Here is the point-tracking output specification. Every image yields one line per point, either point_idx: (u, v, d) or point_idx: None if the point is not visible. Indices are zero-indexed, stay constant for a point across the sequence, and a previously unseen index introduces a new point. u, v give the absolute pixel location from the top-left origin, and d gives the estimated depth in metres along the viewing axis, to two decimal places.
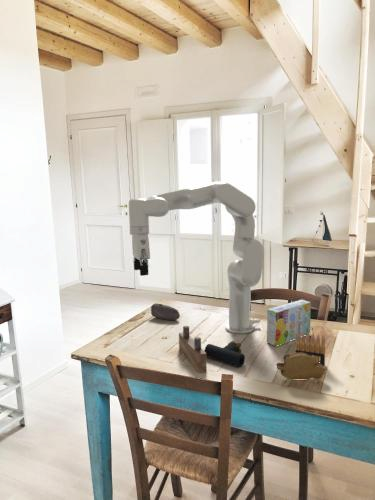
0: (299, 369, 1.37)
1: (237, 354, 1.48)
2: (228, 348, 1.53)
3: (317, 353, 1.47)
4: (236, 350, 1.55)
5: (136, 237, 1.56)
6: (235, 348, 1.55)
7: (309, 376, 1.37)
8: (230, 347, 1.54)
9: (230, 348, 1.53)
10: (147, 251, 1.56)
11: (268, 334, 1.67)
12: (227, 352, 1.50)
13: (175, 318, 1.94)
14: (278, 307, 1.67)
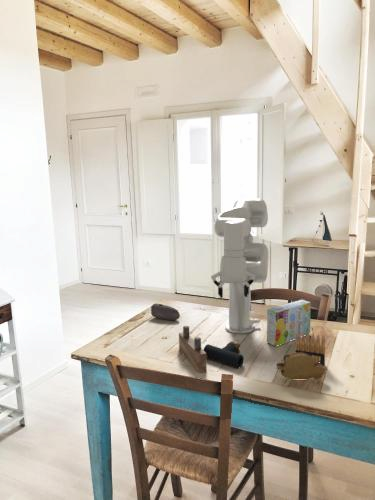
0: (299, 369, 1.37)
1: (236, 355, 1.47)
2: (227, 349, 1.52)
3: (317, 353, 1.47)
4: (235, 351, 1.54)
5: (243, 260, 1.53)
6: (234, 349, 1.54)
7: (309, 376, 1.37)
8: (229, 348, 1.53)
9: (229, 349, 1.53)
10: None
11: (268, 334, 1.67)
12: (226, 353, 1.50)
13: (175, 318, 1.94)
14: (278, 307, 1.67)
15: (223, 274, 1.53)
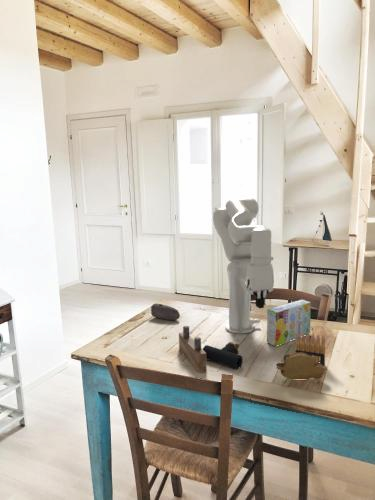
0: (299, 369, 1.37)
1: (235, 356, 1.47)
2: (226, 349, 1.52)
3: (317, 353, 1.47)
4: (234, 351, 1.54)
5: (271, 267, 1.53)
6: (233, 349, 1.54)
7: (309, 376, 1.37)
8: (228, 348, 1.53)
9: (228, 349, 1.52)
10: None
11: (268, 334, 1.67)
12: (225, 353, 1.49)
13: (175, 318, 1.94)
14: (278, 307, 1.67)
15: (253, 282, 1.51)
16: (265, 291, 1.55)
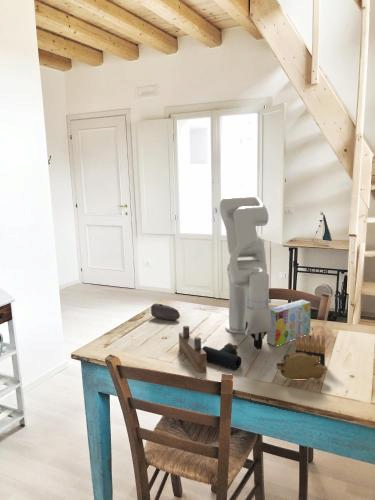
0: (299, 369, 1.37)
1: (233, 356, 1.46)
2: (224, 350, 1.51)
3: (317, 353, 1.47)
4: (232, 352, 1.53)
5: (269, 310, 1.56)
6: (231, 350, 1.53)
7: (309, 376, 1.37)
8: (226, 349, 1.52)
9: (226, 350, 1.52)
10: None
11: (268, 334, 1.67)
12: (223, 354, 1.48)
13: (175, 318, 1.94)
14: (278, 307, 1.67)
15: (251, 325, 1.54)
16: (263, 333, 1.58)
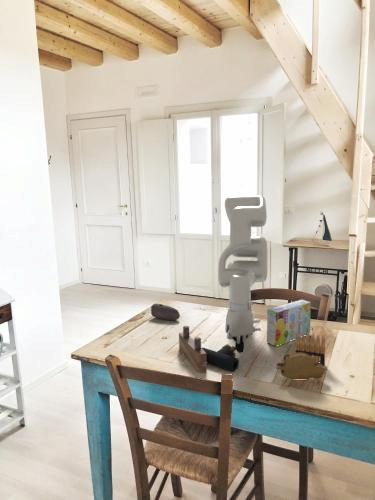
0: (299, 369, 1.37)
1: (231, 358, 1.45)
2: (222, 352, 1.50)
3: (317, 353, 1.47)
4: (230, 354, 1.52)
5: (250, 312, 1.53)
6: (229, 352, 1.52)
7: (309, 376, 1.37)
8: (224, 351, 1.51)
9: (224, 352, 1.51)
10: None
11: (268, 334, 1.67)
12: (221, 356, 1.47)
13: (175, 318, 1.94)
14: (278, 307, 1.67)
15: (232, 328, 1.51)
16: (244, 336, 1.55)
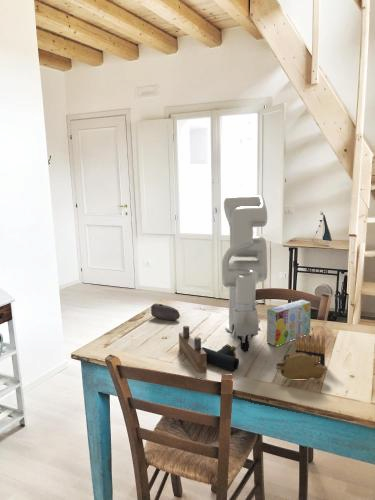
0: (299, 369, 1.37)
1: (231, 358, 1.45)
2: (222, 352, 1.50)
3: (317, 353, 1.47)
4: (230, 354, 1.52)
5: (255, 312, 1.54)
6: (229, 352, 1.52)
7: (309, 376, 1.37)
8: (224, 351, 1.51)
9: (224, 352, 1.50)
10: None
11: (268, 334, 1.67)
12: (221, 356, 1.47)
13: (175, 318, 1.94)
14: (278, 307, 1.67)
15: (237, 328, 1.53)
16: (250, 335, 1.56)
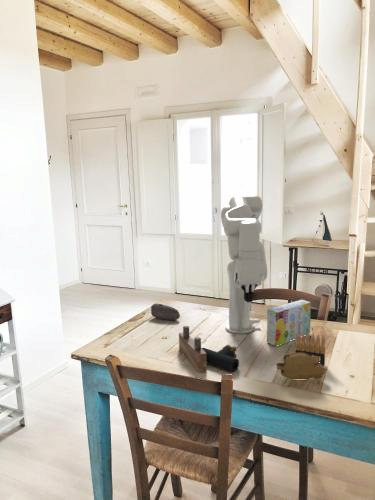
0: (299, 369, 1.37)
1: (231, 359, 1.44)
2: (222, 352, 1.50)
3: (317, 353, 1.47)
4: (231, 354, 1.51)
5: (259, 260, 1.51)
6: (230, 352, 1.51)
7: (309, 376, 1.37)
8: (224, 351, 1.50)
9: (224, 352, 1.50)
10: None
11: (268, 334, 1.67)
12: (221, 356, 1.47)
13: (175, 318, 1.94)
14: (278, 307, 1.67)
15: (241, 276, 1.49)
16: (253, 285, 1.53)
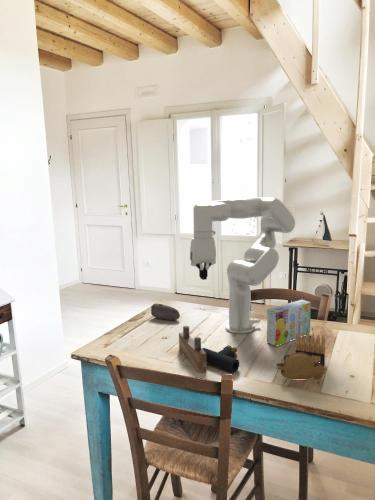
0: (299, 369, 1.37)
1: (231, 359, 1.44)
2: (223, 353, 1.49)
3: (317, 353, 1.47)
4: (231, 355, 1.51)
5: (213, 240, 1.62)
6: (230, 353, 1.51)
7: (309, 376, 1.37)
8: (225, 352, 1.50)
9: (225, 353, 1.49)
10: None
11: (268, 334, 1.67)
12: (221, 357, 1.46)
13: (175, 318, 1.94)
14: (278, 307, 1.67)
15: (195, 255, 1.61)
16: (208, 263, 1.64)
